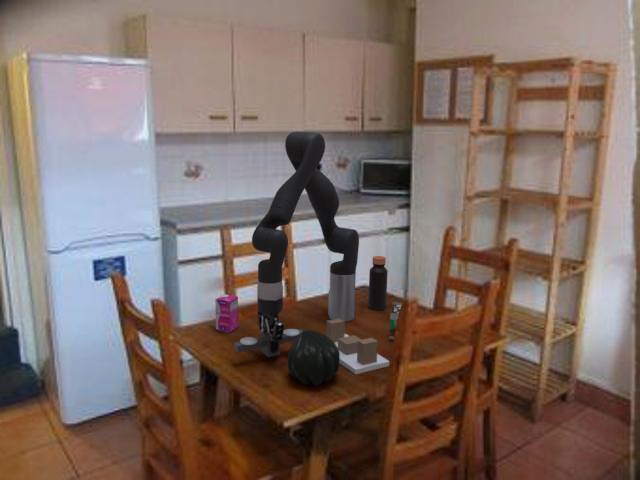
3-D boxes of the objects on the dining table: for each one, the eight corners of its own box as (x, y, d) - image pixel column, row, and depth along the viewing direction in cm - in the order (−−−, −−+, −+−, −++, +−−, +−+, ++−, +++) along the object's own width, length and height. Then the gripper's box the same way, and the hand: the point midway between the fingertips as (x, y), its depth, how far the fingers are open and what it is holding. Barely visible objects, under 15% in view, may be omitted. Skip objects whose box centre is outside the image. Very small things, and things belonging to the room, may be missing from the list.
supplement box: (215, 330, 190) (214, 298, 188) (224, 325, 196) (224, 293, 193) (230, 333, 188) (229, 301, 186) (239, 327, 193) (238, 295, 191)
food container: (407, 344, 182) (409, 315, 180) (388, 342, 183) (390, 313, 181) (409, 330, 194) (411, 303, 192) (391, 328, 195) (393, 301, 193)
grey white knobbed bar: (239, 363, 162) (239, 344, 161) (233, 357, 166) (232, 338, 165) (306, 348, 173) (306, 330, 171) (298, 342, 177) (298, 325, 176)
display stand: (314, 344, 180) (314, 321, 179) (345, 337, 186) (346, 315, 185) (355, 374, 160) (356, 348, 158) (389, 366, 166) (390, 340, 164)
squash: (358, 363, 155) (331, 316, 159) (320, 383, 144) (293, 331, 148) (330, 381, 164) (306, 336, 168) (293, 401, 154) (268, 352, 158)
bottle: (365, 305, 219) (367, 255, 215) (382, 304, 220) (384, 254, 216) (371, 311, 212) (373, 260, 208) (388, 310, 214) (390, 259, 210)
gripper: (248, 289, 170) (249, 342, 173) (268, 304, 157) (269, 360, 161) (271, 286, 173) (271, 338, 177) (292, 300, 161) (292, 355, 165)
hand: (270, 348), depth 169 cm, fingers closed on grey white knobbed bar, 5 cm apart
